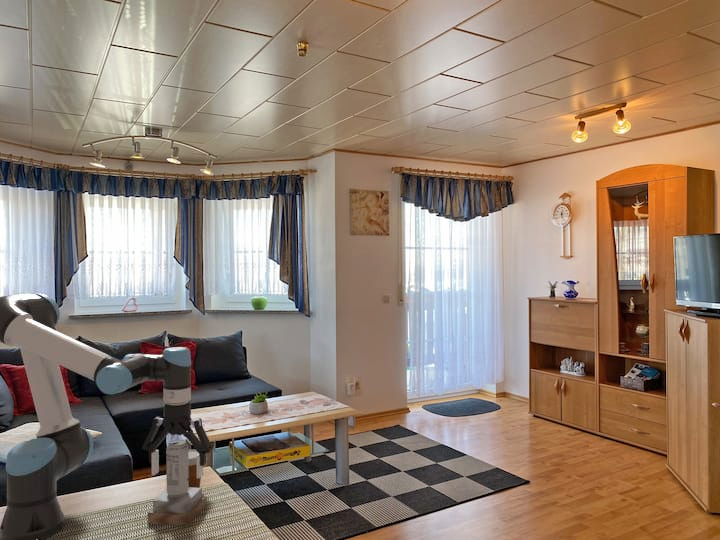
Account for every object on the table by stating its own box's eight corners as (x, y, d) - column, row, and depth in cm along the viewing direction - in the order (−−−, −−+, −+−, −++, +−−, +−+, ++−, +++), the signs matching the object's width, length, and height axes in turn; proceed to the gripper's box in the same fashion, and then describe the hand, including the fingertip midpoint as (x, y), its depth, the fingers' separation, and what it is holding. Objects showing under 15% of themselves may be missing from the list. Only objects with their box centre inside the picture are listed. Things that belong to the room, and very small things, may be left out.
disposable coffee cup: (181, 501, 169) (181, 462, 169) (168, 491, 176) (167, 453, 176) (210, 492, 176) (209, 454, 175) (196, 483, 183) (196, 446, 182)
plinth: (147, 523, 155) (147, 501, 155) (168, 504, 167) (168, 484, 167) (188, 526, 154) (188, 504, 154) (206, 506, 166) (206, 486, 165)
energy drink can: (192, 493, 161) (192, 442, 160) (173, 500, 156) (173, 447, 156) (181, 487, 165) (181, 437, 164) (162, 494, 160) (162, 442, 160)
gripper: (129, 403, 158) (129, 477, 158) (213, 407, 154) (213, 482, 155) (143, 396, 165) (143, 467, 166) (223, 400, 162) (223, 472, 162)
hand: (177, 475), depth 160 cm, fingers open, 13 cm apart
